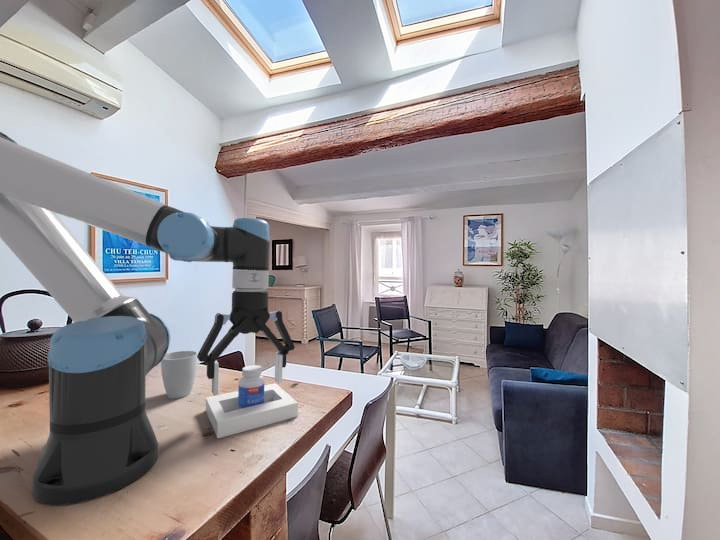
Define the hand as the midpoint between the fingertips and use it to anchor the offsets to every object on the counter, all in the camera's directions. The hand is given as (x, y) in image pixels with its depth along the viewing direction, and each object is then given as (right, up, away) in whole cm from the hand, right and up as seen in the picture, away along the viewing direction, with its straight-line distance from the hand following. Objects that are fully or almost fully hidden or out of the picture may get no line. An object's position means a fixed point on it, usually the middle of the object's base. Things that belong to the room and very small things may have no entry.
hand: (248, 387), depth 70 cm
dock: (-1, -6, +3) cm, 6 cm away
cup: (-21, -6, +11) cm, 25 cm away
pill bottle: (+1, -6, 0) cm, 6 cm away
